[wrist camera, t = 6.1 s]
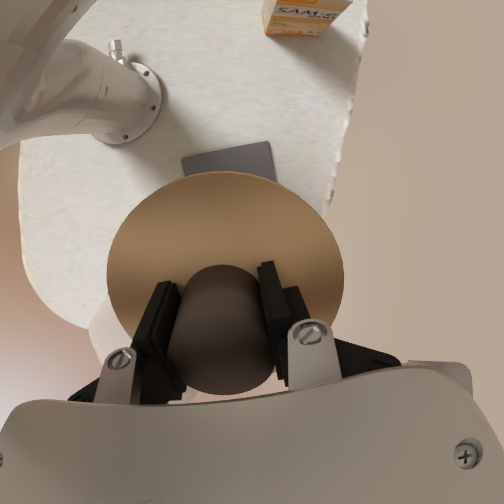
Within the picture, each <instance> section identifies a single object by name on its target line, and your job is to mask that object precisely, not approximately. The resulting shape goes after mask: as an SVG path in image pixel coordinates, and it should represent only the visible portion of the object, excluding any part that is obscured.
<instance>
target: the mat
mask: <svg viewBox="0 0 504 504" xmlns="http://www.w3.org/2000/svg"><path fill="white" fill-rule="evenodd" d="M181 160H182V165H183V169H184V173H185V177H187V176H190V175H193V174H199V173H205V172H211V171H233V172H242V173H248V174H252V175H256V176H260V177H264V178H266V179H269V180H271V181H273V182H275V177H274V172H273V166H272V161H271V155H270V150H269V145H268V141H265V142H259V143H253V144H248V145H243V146H238V147H233V148H228V149H223V150H219V151H214V152H210V153H205V154H201V155H197V156H193V157H189V158H185V159H181Z"/></svg>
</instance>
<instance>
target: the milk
mask: <svg viewBox="0 0 504 504" xmlns="http://www.w3.org/2000/svg"><path fill="white" fill-rule="evenodd" d="M89 335H90V340H91V343H92V345H93V347H94V350H95V352H96V354H97V356H98V358H99V360H100V362H101V364H102V366H103V364H104V361H105V359H106V357H107V356H108V355H109V354H110V353H112V352H113V351H115V350H116V349H119V348H122V347H130V345H131V343H132V339H131V338H130V337H129V335H128V334H127V333H126V331H125V330H124V329H123V327H122V325H121V324H120V322H119V320H118V319H117V316H116V314H115V312H114V310H113V307H112V304H111V301H110V297H109V294H107V296H106V297H105V299H104V301H103V302H102V304H101V306H100V308H99V309H98V311H97V313H96V315H95V317H94V318H93V320H92V322H91V324H90V327H89ZM196 393H197V390H195V389H193V388H191V387H189V386H187V390H186V392H185V393H183V394H182V400H178V401H169V402H168V403H169V404H187V403H190V402H191V401H192V400H193V399H194V398H195V396H196Z"/></svg>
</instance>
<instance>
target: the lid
mask: <svg viewBox="0 0 504 504" xmlns="http://www.w3.org/2000/svg"><path fill="white" fill-rule="evenodd" d="M271 260H273V261H274V264H275V267H276V270H277V274H278V277H279V280H280V283H281V286H282V288H287V287H291V286H296V285H297V286H298V287H299V290H300V292H301V295H302V297H303V300H304V302H305V305H306V307H307V309H308V312H309V314H310V317H311V319H319V320H322V321H325V322H326V323H328V324H329V325H330V327H331V325H332V323H333V321H334V319H335V317H336V315H337V312H338V309H339V307H340V304H341V299H342V294H343V288H344V271H343V262H342V258H341V254H340V251H339V247H338V245H337V243H336V241H335V238H334V236H333V234H332V232H331V231H330V229H329V228H328V227H327V225H326V223H325V222H324V220H323V219H322V218H321V217H320V216H319V215H318V214H317V212H316V211H315V210H314V209H313V208H312V207H311V206H310V205H309V204H307V203H306V202H305V201H304V200H303V199H301V198H300V197H299V196H298V195H297V194H295V193H294V192H292V191H290V190H289V189H287V188H285V187H284V186H282V185H280V184H278V183H276V182H273V181H271V180H269V179H266V178H264V177H260V176H256V175H252V174H248V173H242V172H233V171H211V172H205V173H199V174H193V175H190V176H187V177H184V178H181V179H178V180H175V181H173V182H171V183H169V184H167V185H165V186H163V187H161V188H160V189H158V190H157V191H155V192H154V193H153V194H151V195H150V196H148V197H147V198H146V199H144V200H143V201H142V202H141V203H140V204H139V205H138V206H136V207H135V208H134V209H133V210H132V211H131V212H130V214H129V215H128V216H127V218H126V219H125V220H124V222H123V223H122V224H121V226H120V228H119V230H118V232H117V234H116V236H115V237H114V240H113V243H112V246H111V249H110V252H109V257H108V263H107V286H108V294H109V297H110V301H111V304H112V307H113V310H114V312H115V314H116V316H117V319H118V320H119V322H120V324H121V325H122V327H123V329H124V330H125V331H126V333H127V334H128V335H129V337H130V338H131V339H133V337H134V334H135V332H136V330H137V327H138V325H139V323H140V320H141V318H142V316H143V314H144V311H145V309H146V307H147V305H148V302H149V300H150V298H151V296H152V294H153V292H154V289H155V287H156V285H157V283H158V282H163V281H169V280H170V281H171V282H172V283H176V285H177V288H178V291H179V293H180V296H181V302H180V306H179V309H178V313H177V316H176V320H175V324H174V327H173V331H172V335H171V339H170V343H169V346H168V350H167V360H168V362H169V364H170V365H171V367H172V369H173V371H174V373H175V374H176V376H177V378H178V379H179V380H180V381H181V382H183V383H184V384H186V385H187V386H189V387H191V388H193V389H195V390H198V391H201V392H204V393H208V394H215V395H234V394H239V393H243V392H246V391H249V390H252V389H254V388H256V387H258V386H259V385H261V384H262V383H263V382H265V381H266V380H267V379H268V378H269V376H270V375H271V374H272V373H274V372H276V367H275V362H274V357H273V352H272V348H271V343H270V338H269V333H268V328H267V323H266V318H265V313H264V307H263V301H262V295H261V290H260V284H259V278H258V272H257V267H258V266H261V262H266V261H271Z"/></svg>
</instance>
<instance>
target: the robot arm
mask: <svg viewBox="0 0 504 504" xmlns="http://www.w3.org/2000/svg"><path fill="white" fill-rule="evenodd" d="M96 1H97V0H0V150H1V149H3V148H5V147H7V146H9V145H11V144H14V143H16V142H19V141H22V140H25V139H29V138H34V137H41V136H52V135H69V134H92V136H93V137H95V138H96V139H97V140H99V141H101V142H103V143H107V144H123V143H127V142H130V141H132V140H134V139H136V138H138V137H139V136H141V135H142V134H143V133H145V132H146V131H147V130H148V129H149V127H150V126H151V125H152V124H153V122H154V121H155V119H156V117H157V115H158V113H159V110H160V107H161V103H162V88H161V84H160V81H159V79H158V78H157V76H156V74H155V73H154V72H153V71H152V70H151V69H149V68H148V67H147V66H145V65H143V64H141V63H136V62H126V61H125V57H123V56H122V44H121V40H114V41H111V42H110V43H109V44H108V49H109V55H110V57H109V56H107V55H106V54H104V53H102V52H100V51H99V50H97V49H95V48H93V47H91V46H90V45H88V44H86V43H84V42H81V41H78V40H73V39H64V38H65V37H66V36H67V34H68V33H69V32H70V30H71V29H72V28H73V27H74V26H75V24H76V23H77V22H78V21H79V20H80V18H81V17H82V16H83V15H84V14H85V13H86V12H87V10H88V9H89V8H90V7H91V6H92V5H93V4H94V3H95V2H96ZM147 74H149V75H148V76H147ZM154 107H156V109H155V110H153V108H154ZM127 135H128V138H127ZM257 272H258V278H259V284H260V290H261V295H262V301H263V307H264V313H265V318H266V323H267V328H268V333H269V338H270V343H271V348H272V352H273V357H274V362H275V367H276V372H277V377H278V380H282V379H284V382H285V386H286V387H289V390H288V391H283V392H278V393H272V394H267V395H260V396H254V397H247V398H240V399H231V400H223V401H213V402H201V403H187V404H169V403H168V402H169V401H178V400H182V394H183V393H185V392H186V390H187V385H186V384H184V383H183V382H181V381H180V380H179V379H178V378H177V376H176V374H175V373H174V371H173V369H172V367H171V365H170V364H169V362H168V360H167V350H168V346H169V343H170V339H171V335H172V331H173V327H174V324H175V320H176V316H177V313H178V309H179V306H180V302H181V296H180V293H179V291H178V288H177V285H176V283H172V282H171V281H170V280H169V281H163V282H158V283H157V285H156V287H155V289H154V292H153V294H152V296H151V298H150V300H149V302H148V305H147V307H146V309H145V311H144V314H143V316H142V318H141V320H140V323H139V325H138V327H137V330H136V332H135V334H134V337H133V339H132V343H131V345H130V347H122V348H119V349H116V350H115V351H113V352H112V353H110V354H109V355H108V356H107V357H106V359H105V361H104V364H103V367H102V371H101V375H100V377H99V378H97V379H96V380H94V381H93V382H91V383H90V384H88V385H87V386H85V387H84V388H82V389H81V390H79V391H78V392H76V393H75V394H73V395H72V396H71V397H70V398H69V399H68V400H67V401H64V400H50V399H41V400H32V401H28V402H25V403H22V404H20V405H18V406H17V407H15V408H14V409H13V411H12V412H11V413H10V415H9V417H8V419H7V420H6V422H5V424H4V426H3V428H2V430H1V432H0V504H504V450H503V448H502V446H501V444H500V442H499V440H498V438H497V436H496V435H495V433H494V431H493V429H492V427H491V425H490V423H489V422H488V420H487V419H486V417H485V416H484V414H483V412H482V411H481V410H480V408H479V407H478V405H477V404H476V402H475V401H474V399H473V390H472V376H471V373H470V370H469V369H468V368H467V366H465V365H464V364H462V363H458V362H433V361H412V360H408V363H407V364H406V363H400V361H399V360H398V359H397V358H396V357H394V356H392V355H390V354H387V353H383V352H379V351H376V350H372V349H369V348H366V347H362V346H359V345H355V344H352V343H349V342H345V341H342V340H339V339H336V338H334V337H333V333H332V329H331V327H330V325H329V324H328V323H326V322H325V321H322V320H319V319H311V317H310V314H309V312H308V309H307V307H306V305H305V302H304V300H303V297H302V295H301V292H300V290H299V287H298V286H297V285H296V286H291V287H287V288H282V286H281V283H280V280H279V277H278V274H277V270H276V267H275V264H274V261H273V260H271V261H266V262H261V266H258V267H257Z"/></svg>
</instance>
